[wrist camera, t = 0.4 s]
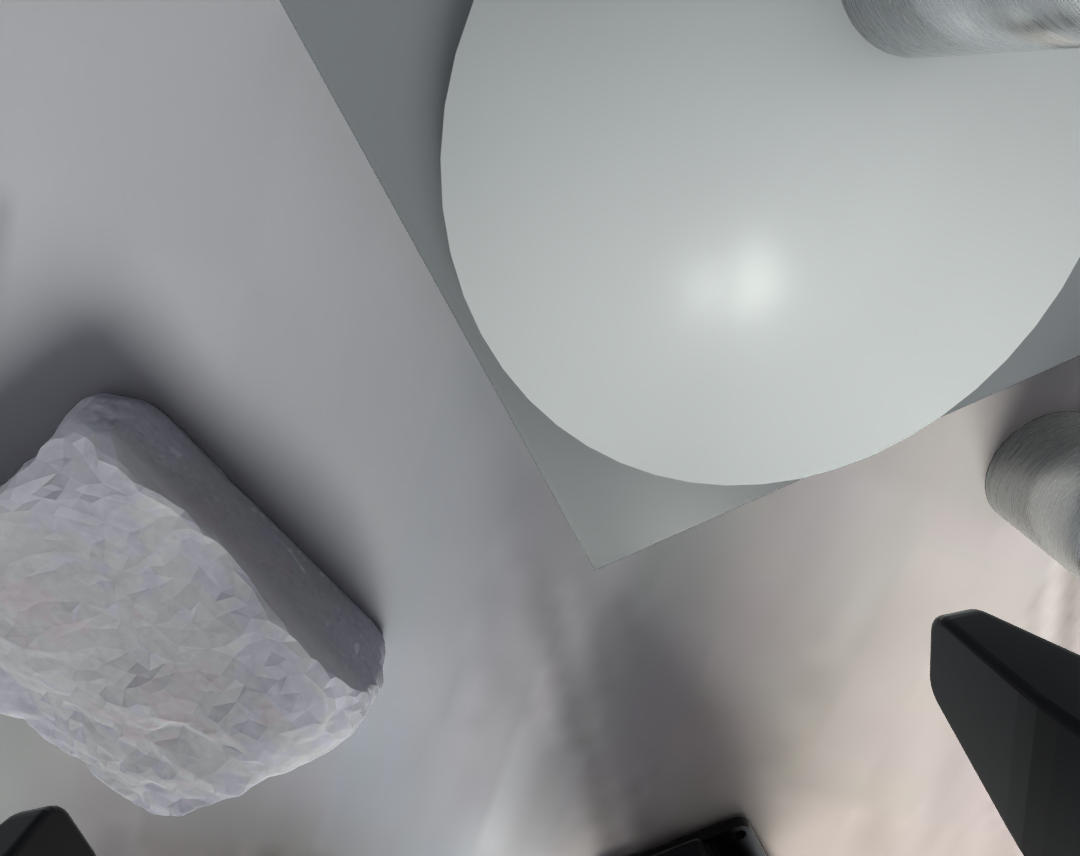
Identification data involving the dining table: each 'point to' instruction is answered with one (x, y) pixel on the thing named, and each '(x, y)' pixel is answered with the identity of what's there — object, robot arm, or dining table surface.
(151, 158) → the dining table surface
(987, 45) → the cylinder
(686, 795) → the dining table surface
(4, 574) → the stone block
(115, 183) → the dining table surface
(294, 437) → the dining table surface
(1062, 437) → the cylinder
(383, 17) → the scale
